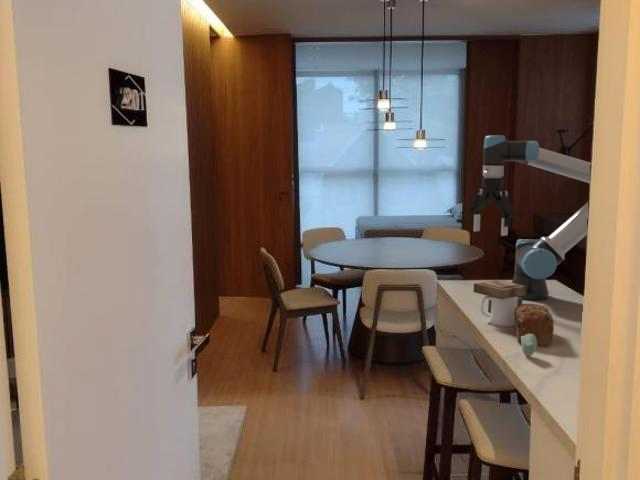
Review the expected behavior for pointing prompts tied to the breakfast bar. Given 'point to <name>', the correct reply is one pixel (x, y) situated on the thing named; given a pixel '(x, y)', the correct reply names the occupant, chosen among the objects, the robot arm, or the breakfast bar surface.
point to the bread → (534, 323)
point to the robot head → (528, 344)
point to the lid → (499, 289)
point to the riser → (517, 304)
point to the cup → (501, 310)
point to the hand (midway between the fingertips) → (490, 233)
